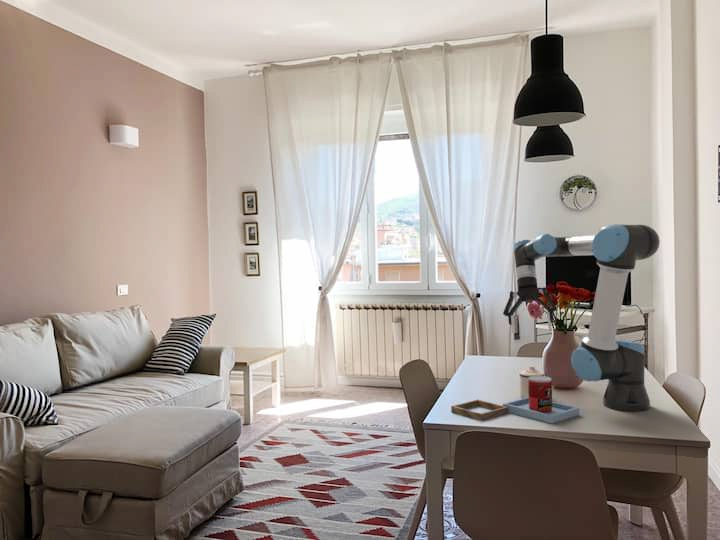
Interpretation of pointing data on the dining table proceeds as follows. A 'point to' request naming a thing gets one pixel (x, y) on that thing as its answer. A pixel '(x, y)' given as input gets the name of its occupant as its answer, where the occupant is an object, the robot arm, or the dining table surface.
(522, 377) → the teacup with lid
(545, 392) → the canned food
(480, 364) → the dining table surface
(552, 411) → the slate-blue tray
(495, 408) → the frame
